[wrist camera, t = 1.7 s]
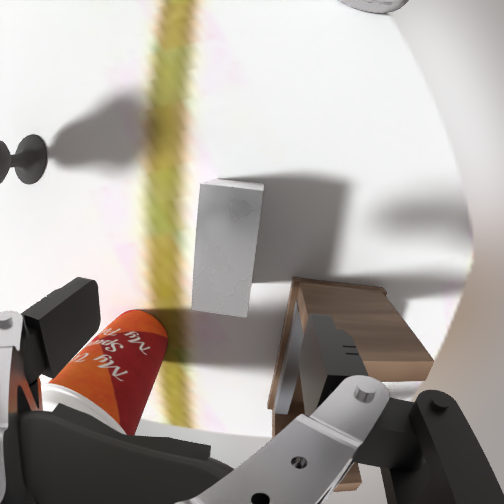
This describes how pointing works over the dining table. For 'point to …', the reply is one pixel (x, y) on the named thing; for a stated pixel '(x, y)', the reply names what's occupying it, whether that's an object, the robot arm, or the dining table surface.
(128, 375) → the paper cup
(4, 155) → the sundae
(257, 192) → the metal block
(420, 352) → the wooden holder
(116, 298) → the dining table surface
